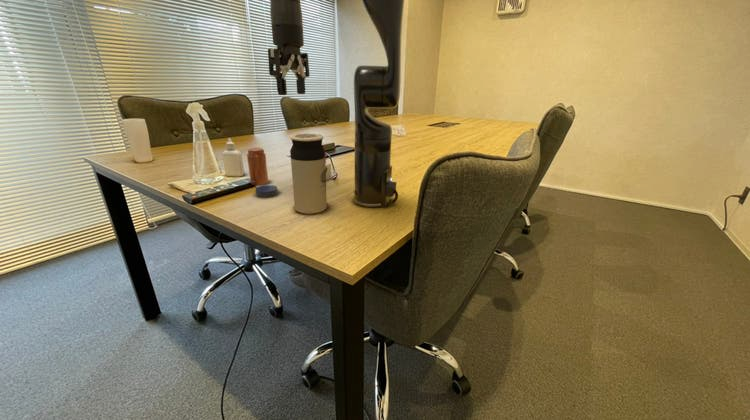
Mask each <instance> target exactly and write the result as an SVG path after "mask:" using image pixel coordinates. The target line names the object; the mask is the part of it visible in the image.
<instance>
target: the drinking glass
mask: <svg viewBox="0 0 750 420" xmlns="http://www.w3.org/2000/svg"><path fill="white" fill-rule="evenodd" d="M121 125H122V129H123V131H124V134H125V137H126V140H127V142H128V145H129V147H130V150H131V152H132V154H133V158H134V161H135V162H136V163H138V164H139V163H140V164H143V163H144V164H145V163H149V162H152V161H153V160H154V158H153V153H152V147H151V140H150V136H149V135H150V134H149V131H148V125H147V122H146V119H145V118H122V119H121Z"/></svg>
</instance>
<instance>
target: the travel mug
mask: <svg viewBox="0 0 750 420" xmlns="http://www.w3.org/2000/svg"><path fill="white" fill-rule="evenodd" d="M289 138H290V140H291V143H292V146H291V148H290V150H289V153H290V166H291V177H292V178H291V179H292V191H293V201H294V202H293V205H294V210H295V211H296V212H298V213H300V214H304V215H305V214H306V215H312V214H319V213H321V212H323V211H325V210H326V209H328V199H327V196H328V195H327V180H326V164H325V156H326V148H325V147H324V146H323V139H324V135H322V134H319V133H298V134H297V133H296V134H292V135H290V136H289ZM324 148H325V149H324Z"/></svg>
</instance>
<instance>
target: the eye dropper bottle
mask: <svg viewBox="0 0 750 420" xmlns="http://www.w3.org/2000/svg"><path fill="white" fill-rule="evenodd" d="M225 145H226V150H224V151H223V152H222V155H221V156H222V161H223V166H224V167H223V168H224V172H225V173H224V174H225V176H227V177H232V178H233V177H236V178H237V177H242V176H244V175H245V167H244V162H243V161H244V160H243V156H242V155H243V154H242V152H241V151H240V150H237V149H236V144H235V142H233V141H232V138H231V137H229V138H228V139H227V142H226V143H225Z"/></svg>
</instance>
